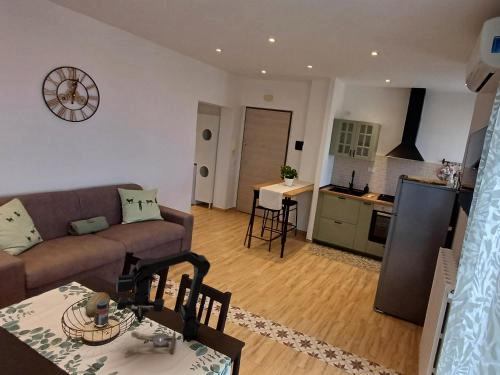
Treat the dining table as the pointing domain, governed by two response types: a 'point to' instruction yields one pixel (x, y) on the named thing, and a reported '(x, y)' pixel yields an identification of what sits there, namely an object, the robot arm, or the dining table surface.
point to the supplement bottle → (101, 313)
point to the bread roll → (94, 300)
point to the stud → (160, 340)
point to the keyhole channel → (150, 350)
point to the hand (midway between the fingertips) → (140, 321)
